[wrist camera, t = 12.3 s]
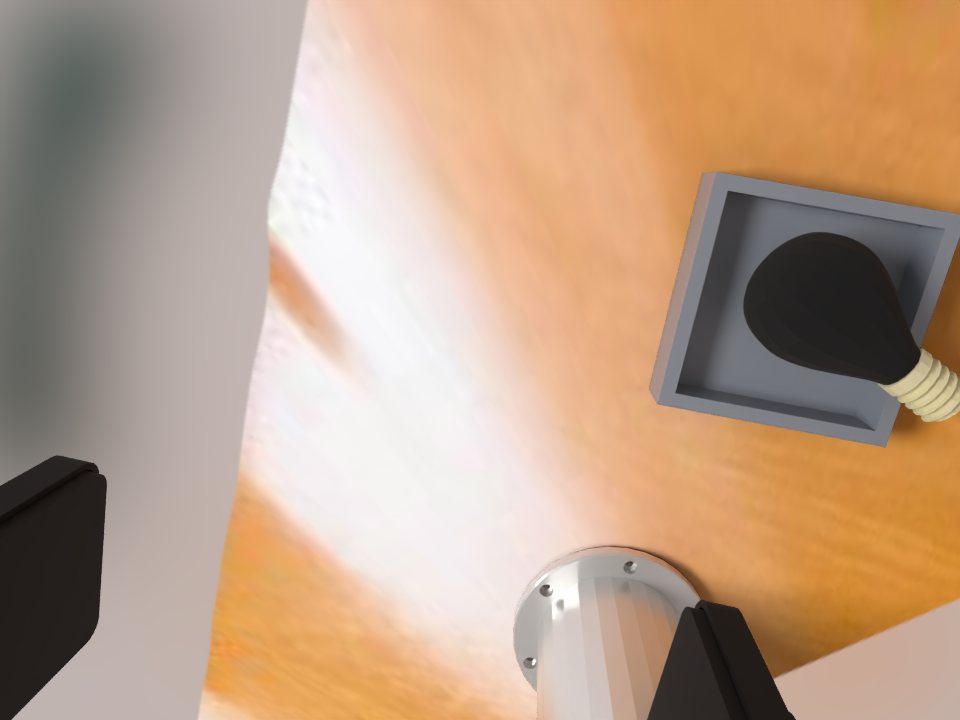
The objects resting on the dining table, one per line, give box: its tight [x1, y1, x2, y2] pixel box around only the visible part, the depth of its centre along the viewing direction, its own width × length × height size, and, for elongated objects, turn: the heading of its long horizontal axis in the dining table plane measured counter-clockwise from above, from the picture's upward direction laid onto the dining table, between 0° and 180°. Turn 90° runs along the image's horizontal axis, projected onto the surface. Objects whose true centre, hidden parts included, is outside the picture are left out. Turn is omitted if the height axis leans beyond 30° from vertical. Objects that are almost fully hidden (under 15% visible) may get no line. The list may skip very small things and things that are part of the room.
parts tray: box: [649, 172, 960, 447], centre depth 37 cm, size 13×13×3 cm
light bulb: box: [743, 232, 960, 422], centre depth 34 cm, size 7×7×12 cm
